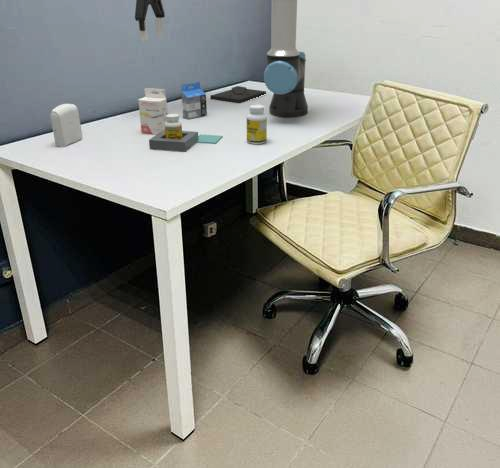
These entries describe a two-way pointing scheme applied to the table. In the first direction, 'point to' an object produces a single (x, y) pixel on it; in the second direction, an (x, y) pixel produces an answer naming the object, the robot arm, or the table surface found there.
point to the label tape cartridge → (193, 101)
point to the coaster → (208, 139)
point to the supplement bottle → (173, 127)
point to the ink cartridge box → (153, 111)
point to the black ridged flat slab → (237, 95)
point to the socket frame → (173, 141)
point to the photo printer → (66, 124)
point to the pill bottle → (256, 125)
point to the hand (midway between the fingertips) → (152, 38)
